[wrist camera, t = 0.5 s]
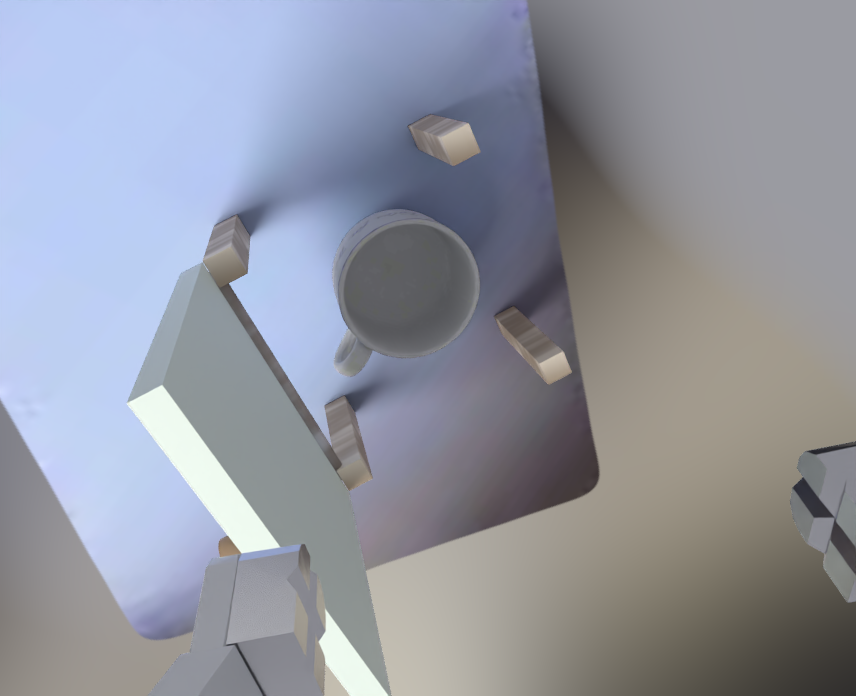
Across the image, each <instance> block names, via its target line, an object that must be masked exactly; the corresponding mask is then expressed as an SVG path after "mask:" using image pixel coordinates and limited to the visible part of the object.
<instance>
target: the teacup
mask: <svg viewBox="0 0 856 696" xmlns="http://www.w3.org/2000/svg"><path fill="white" fill-rule="evenodd" d="M332 279H333V287H334V292H335V295H336V298H337V301H338V304H339V307H340V311H341V314H342V317H343V319H344V321H345V323H346V325H347V326H348V329H347V331H346V333H345V335H344V337H343V339H342V341H341V343H340V345H339V347H338V349H337V352H336V354H335V358H334V368H335V369H336V370H337V371H338V372H339V373H340V374H342V375H344V376H347V377H352V376H355V375H356V374H358V373H359V372H360V371H361V370H362V368H363V367H364V366H365V364H366V363H367V361H368V359H369V357H370V355H371V353H372V350H373V351H376V352H378V353H380V354H383V355H387V356H391V357H396V358H415V357H422V356H425V355H428V354H431V353H434V352H436V351H438V350H440V349H442V348H443V347H445V346H446V345H448V344H449V343H450V342H452V341H453V340H455V339H456V338H457V337H458V336H459V334H460V333H461V332H462V331H463V330H464V329H465V327H466V326H467V325H468V323H469V322H470V320H471V318H472V316H473V314H474V311H475V309H476V306H477V302H478V298H479V292H480V277H479V270H478V267H477V263H476V261H475V258H474V256H473V254H472V253H471V251H470V249H469V247H468V246H467V245H466V243H465V242H464V241H463V240H462V239H461V237H460V236H458V235H457V234H456V233H455V232H454V231H453V230H451V229H449V228H448V227H446V226H445V225H443V224H440V223H438V222H437V221H435V220H434V219H432V218H430V217H428V216H426V215H424V214H421V213H419V212H415V211H411V210H404V209H391V210H384V211H381V212H377V213H375V214H372V215H370V216H368V217H366V218H364V219H363V220H361V221H360V222H358V223H357V224H356V225H355V226H354V227H353V228H351V230H350V231H349V232H348V233H347V234H346V235H345V237H344V238H343V240H342V241H341V243H340V245H339V247H338V249H337V252H336V254H335V258H334V262H333V269H332Z"/></svg>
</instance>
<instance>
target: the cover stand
mask: <svg viewBox="0 0 856 696" xmlns="http://www.w3.org/2000/svg"><path fill="white" fill-rule="evenodd" d="M408 128H409V130H410V132H411V134H412V136H413V139H414V141H415V143H416V145H417V147H418V150H420V151H423V152H425V153H427V154H429V155H431V156H433V157H435V158H437V159H439V160H441V161H444V162H446V163H448V164H450V165H452V166H455V165H457V164H459V163H461V162H463V161H465V160H466V159H468V158H470V157H472V156H474V155H476V154H478V153H480V149H479V147H478V144H477V142H476V139H475V137H474V135H473V132H472V130H471V127H470V125H469V123H466V122H462V121H458V120H453V119H449V118H445V117H440V116H436V115H432V114H430V115H428V116H426V117H424V118H422V119H420V120H418V121H416V122H414V123H412V124H410V125H408ZM249 247H250V235H249V234H248V232H247V230H246V229H245V227H244V225H243V224H242V222H241V220H240V219H239V217H238V215H237V214H236V215H234V216H233V217H231V218H229V219H227V220H225V221H223V222H221V223H219V224H217V225H215V226H214V228H213V231H212V234H211V237H210V240H209V243H208V246H207V249H206V252H205V255H204V258H203V262H204V264H205V266H206V267H207V269H208V270H209V274H210V275H211V277H212V278H213V280H214V281H215V283H216V285H217V286H218V288H219V289H220V291H221V292H222V294H223V296H224V297H225V299H226V300H227V302H228V303H229V305H230V307H231V308H232V310H233V311H234V313H235V314H236V316H237V318H238V319H239V321H240V322H241V324H242V325H243V327H244V329H245V330H246V332H247V333H248V335H249V336H250V338H251V339H252V341H253V343H254V344H255V346H256V347H257V349H258V350H259V352H260V354H261V355H262V357H263V358H264V360H265V361H266V363H267V365H268V366H269V368H270V369H271V371H272V372H273V374H274V376H275V377H276V379H277V380H278V382H279V383H280V385H281V386H282V388H283V390H284V391H285V393H286V394H287V396H288V397H289V399H290V401H291V402H292V404H293V405H294V407H295V408H296V410H297V412H298V413H299V415H300V416H301V418H302V419H303V421H304V423H305V424H306V426H307V427H308V429H309V430H310V432H311V434H312V435H313V437H314V438H315V440H316V441H317V443H318V444H319V446H320V448H321V449H322V451H323V452H324V454H325V455H326V457H327V459H328V460H329V462H330V463H331V465H332V466H333V468H334V470H335V471H336V473H337V474H338V476H339V477H340V479H341V480H342V481H343V482H344V484H345V485H346V487H347V488H348V490H349V491H350V490H352V489H354V488H356V487H358V486H359V485H361V484H363V483H365V482H367V481H369V480H371V479H373V477H372V474H371V470H370V466H369V463H368V459H367V455H366V452H365V448H364V444H363V441H362V437H361V433H360V430H359V426H358V422H357V419H356V415H355V412H354V410H353V409H352V407H351V405H350V404H349V402H348V400H347V399H346V397H345V395H344V396H342V397H340V398H338V399H336V400H335V401H333V402H331V403H329V404H327V405H325V412H326V417H327V422H328V428H329V433H330V439H331V444H332V447H331V445H330V444H329V442H328V441H327V439H326V437H325V436H324V434H323V433H322V431H321V430H320V428H319V426H318V425H317V423H316V422H315V420H314V418H313V417H312V415H311V414H310V412H309V410H308V409H307V407H306V406H305V404H304V403H303V401H302V399H301V398H300V396H299V395H298V393H297V391H296V390H295V388H294V387H293V385H292V383H291V382H290V380H289V379H288V377H287V375H286V374H285V372H284V371H283V369H282V368H281V366H280V364H279V363H278V361H277V360H276V358H275V356H274V355H273V353H272V352H271V350H270V348H269V347H268V345H267V344H266V342H265V341H264V339H263V337H262V336H261V334H260V333H259V331H258V329H257V328H256V326H255V325H254V323H253V321H252V320H251V318H250V317H249V315H248V313H247V312H246V310H245V309H244V307H243V306H242V304H241V302H240V301H239V299H238V298H237V296H236V294H235V293H234V291H233V290H232V288H231V286H230V285H229V283H230V282H232V281H234V280H236V279H238V278H240V277H242V276H244V275H245V274H247V273H248V260H249ZM494 317H495V320H496V322H497V324H498V326H499V328H500V331H501V333H502V335H503V336H504V337H505V338H506V339H507V340H508V341H509V342H510V344H511V345H512V346H513V347H514V348H515V349H516V350H517V351H518V352H519V353H520V354H521V355H522V357H523V358H524V359H525V360H526V361H527V362H528V363H529V364H530V365H531V366H532V367H533V368H534V370H535V371H536V372H537V373H538V374H539V375H540V376H541V377H542V378H543V379H544V380H545V381H546V383H547V384H548V385H549V384H551V383H553V382H555V381H557V380H559V379H561V378H562V377H564V376H566V375H568V374H570V373H572V372H571V369H570V367H569V364H568V362H567V360H566V357H565V355H564V352H563V351H562V350H561V349H560V348H559V347H558V346H557V345H556V344H555V343H554V342H553V341H551V340H550V339H549V338H548V337H547V336H546V335H545V334H544V333H543V332H542V331H541V330H539V329H538V328H537V327H536V326H535V325H534V324H533V323H532V322H531V321H530V320H529V319H528V318H526V317H525V316H524V315H523V314H522V313H521V312H520V311H519V310H518V309H517V308H516V307H514V306H513V307H511V308H509V309H507V310H505V311H503V312H501V313H499V314H497V315H496V316H494Z"/></svg>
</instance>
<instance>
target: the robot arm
mask: <svg viewBox="0 0 856 696" xmlns="http://www.w3.org/2000/svg"><path fill="white" fill-rule="evenodd" d="M797 469H798V470H799V472H800V473H801V475H802V476H803V478H802V479H801V480H800V481H799V482H798V483H797V484H796V485H794V487H793V488H792V493H791V499H790V504H791V510H792V515H793V519H794V521H795V524H796V526H797V528H798V530H799V532H800V534H801V535H802V537H803V538H804V540H805V541H806V543H807V544H809V545H810V546H812V547H814V548H816V549H817V550H819V551H821V552H823V553H825V555H824V563H823V568H824V569H825V571H826V572H827V573H828V575H829V576H830V578H831V579H832V581H833V582H834V584H835V585H836V586H837V588H838V589H839V591H840V592H841V594H842V595H843V597H844V598H845V599H846V601H847V602H854V601H856V441H855V442H850V443H845V444H839V445H835V446H829V447H824V448H819V449H814V450H809V451H805V452H804V453H803V454H802V455H801V456H800V458H799V462H798V466H797ZM325 632H326V613H325V603H324V595H323V591H322V587H321V583H320V580H319V577H318V575H317V574H316V573H314V572H313V571H311V570H310V555H309V552H308V550H307V548H306V546H305V544H299V545H292V546H286V547H279V548H273V549H267V550H260V551H254V552H247V553H242V554H236V555H230V556H224V557H218V558H212V559H211V560H210V562H209V564H208V566H207V567H206V570H205V575H204V581H203V586H202V591H201V596H200V601H199V606H198V612H197V617H196V622H195V627H194V632H193V638H192V643H191V648H190V653H186V654H181V655H180V656H179V657H178V658H177V659H176V661H175V662H174V663H173V664H172V666H171V667H170V668H169V669H168V671H167V672H166V673H165V675H164V676H163V677H162V678H161V680H160V681H159V682H158V683H157V685H156V686H155V687H154V688H153V689H152V691H151V692H150V693H149V694H148V696H324V681H325V679H324V678H325V656H324V653H323V651H322V649H321V646H320V644H319V641H320V639H321V638H322V636H323V635H324V633H325Z"/></svg>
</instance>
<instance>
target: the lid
mask: <svg viewBox="0 0 856 696" xmlns="http://www.w3.org/2000/svg"><path fill="white" fill-rule="evenodd" d="M127 404H128V406H129V407H130V408H131V410H132V411H133V412H134V414H135V415H136V416H137V417H138V419H139V420H140V421H141V423H142V424H143V425H144V427H145V428H146V429H147V431H148V432H149V433H150V434H151V436H152V437H153V438H154V440H155V441H156V442H157V444H158V445H159V446H160V448H161V449H162V450H163V451H164V453H165V454H166V455H167V457H168V458H169V459H170V461H171V462H172V463H173V465H174V466H175V467H176V468H177V470H178V471H179V472H180V474H181V475H182V476H183V478H184V479H185V480H186V482H187V483H188V484H189V485H190V487H191V488H192V489H193V491H194V492H195V493H196V495H197V496H198V497H199V499H200V500H201V501H202V502H203V504H204V505H205V506H206V508H207V509H208V510H209V512H210V513H211V514H212V515H213V517H214V518H215V519H216V521H217V522H218V523H219V525H220V526H221V527H222V529H223V530H224V531H225V532H226V534H227V535H228V536H226V537H224V538H222V539H220V541H219V546H218V547H219V554H220V557H224V556H230V555H236V554H242V553H247V552H254V551H260V550H267V549H273V548H279V547H286V546H292V545H299V544H305V546H306V548H307V550H308V552H309V555H310V570H311V571H313V572H314V573H316V574H317V575H318V577H319V580H320V583H321V587H322V591H323V595H324V603H325V613H326V632H325V633H324V635H323V636H322V638H321V639H320V641H319V644H320V646H321V649H322V651H323V653H324V656H325V663H326V664H327V666H328V667H329V668H330V670H331V671H332V672H333V674H334V675H335V676H336V677H337V679H338V680H339V681H340V683H341V684H342V685H343V687H344V688H345V689H346V691H347V692H348V693H349V695H350V696H391V691H390V686H389V682H388V676H387V671H386V667H385V662H384V657H383V652H382V648H381V642H380V638H379V633H378V628H377V624H376V618H375V613H374V609H373V604H372V599H371V594H370V589H369V585H368V580H367V575H366V570H365V565H364V560H363V556H362V551H361V546H360V541H359V536H358V531H357V527H356V522H355V517H354V512H353V507H352V502H351V498H350V493H349V492H348V490H347V488H346V487H345V485H344V484H343V482H342V481H341V479H340V477H339V476H338V474H337V473H336V471H335V470H334V468H333V466H332V465H331V463H330V462H329V460H328V459H327V457H326V455H325V454H324V452H323V451H322V449H321V448H320V446H319V444H318V443H317V441H316V440H315V438H314V437H313V435H312V434H311V432H310V430H309V429H308V427H307V426H306V424H305V423H304V421H303V419H302V418H301V416H300V415H299V413H298V412H297V410H296V408H295V407H294V405H293V404H292V402H291V401H290V399H289V397H288V396H287V394H286V393H285V391H284V390H283V388H282V386H281V385H280V383H279V382H278V380H277V379H276V377H275V376H274V374H273V372H272V371H271V369H270V368H269V366H268V365H267V363H266V361H265V360H264V358H263V357H262V355H261V354H260V352H259V350H258V349H257V347H256V346H255V344H254V343H253V341H252V339H251V338H250V336H249V335H248V333H247V332H246V330H245V329H244V327H243V325H242V324H241V322H240V321H239V319H238V318H237V316H236V314H235V313H234V311H233V310H232V308H231V307H230V305H229V303H228V302H227V300H226V299H225V297H224V296H223V294H222V292H221V291H220V289H219V288H218V286H217V285H216V283H215V281H214V280H213V278H212V277H211V275H210V274H209V272H208V271H207V269H206V267H205V266H204V264H203V263H200V264H198V265H196V266H194V267H192V268H190V269H188V270H186V271H184V272H182V273H181V274H180V276H179V279H178V281H177V284H176V286H175V289H174V291H173V293H172V296H171V298H170V301H169V303H168V305H167V308H166V310H165V313H164V315H163V317H162V320H161V322H160V325H159V327H158V329H157V332H156V334H155V337H154V339H153V341H152V344H151V346H150V349H149V351H148V353H147V356H146V358H145V361H144V363H143V365H142V368H141V370H140V373H139V375H138V378H137V380H136V382H135V385H134V387H133V390H132V392H131V394H130V397H129V399H128V402H127Z"/></svg>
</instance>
